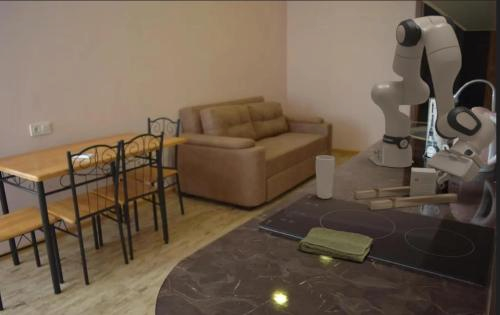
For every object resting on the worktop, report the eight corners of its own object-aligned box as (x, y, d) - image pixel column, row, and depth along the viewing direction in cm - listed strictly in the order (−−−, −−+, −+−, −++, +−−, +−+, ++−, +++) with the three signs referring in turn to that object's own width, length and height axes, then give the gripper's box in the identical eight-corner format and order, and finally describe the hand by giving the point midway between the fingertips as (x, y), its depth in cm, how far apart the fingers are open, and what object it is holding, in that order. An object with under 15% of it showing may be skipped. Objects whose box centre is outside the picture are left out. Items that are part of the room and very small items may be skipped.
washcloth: (364, 266, 97) (365, 254, 96) (296, 252, 105) (296, 241, 104) (374, 244, 108) (374, 233, 108) (311, 233, 116) (312, 223, 116)
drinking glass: (333, 200, 142) (335, 159, 139) (314, 199, 144) (315, 159, 140) (333, 194, 149) (334, 155, 145) (315, 193, 150) (316, 155, 146)
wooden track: (354, 197, 145) (354, 189, 144) (432, 190, 150) (433, 182, 150) (371, 210, 132) (371, 201, 131) (456, 201, 138) (457, 192, 137)
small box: (432, 196, 144) (435, 168, 141) (434, 201, 139) (437, 172, 136) (409, 194, 146) (411, 167, 144) (409, 199, 141) (412, 171, 139)
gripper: (438, 143, 151) (413, 169, 151) (478, 154, 131) (450, 185, 132) (447, 153, 153) (423, 180, 153) (489, 166, 133) (460, 196, 133)
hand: (435, 182), depth 142 cm, fingers closed
